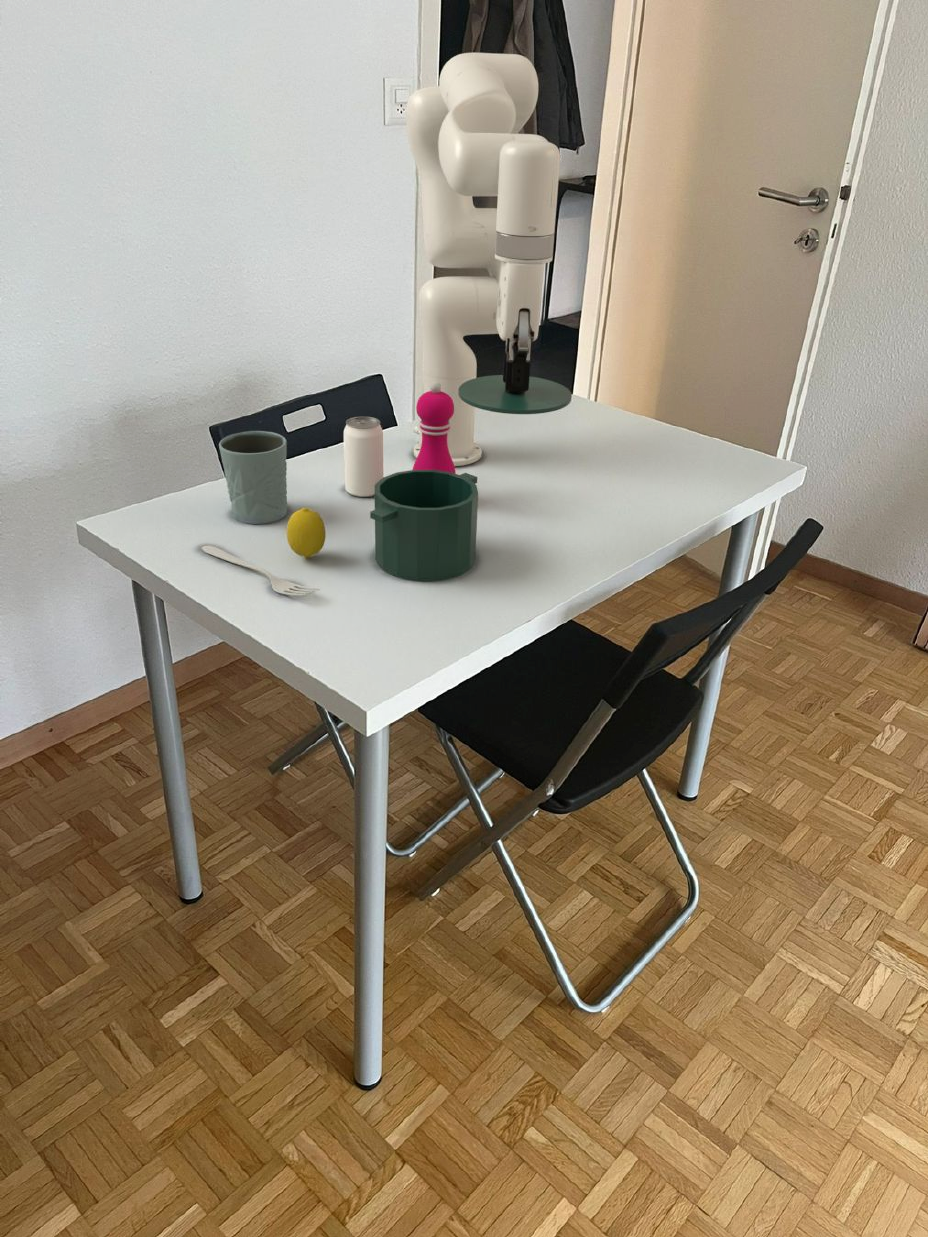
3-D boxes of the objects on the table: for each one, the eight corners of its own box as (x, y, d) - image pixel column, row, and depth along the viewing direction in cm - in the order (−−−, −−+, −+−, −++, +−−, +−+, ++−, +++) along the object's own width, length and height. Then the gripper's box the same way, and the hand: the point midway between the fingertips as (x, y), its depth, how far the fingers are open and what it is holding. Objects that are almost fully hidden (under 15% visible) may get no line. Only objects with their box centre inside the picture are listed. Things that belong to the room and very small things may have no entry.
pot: (341, 564, 141) (339, 494, 136) (433, 523, 155) (435, 457, 149) (415, 598, 133) (415, 525, 128) (505, 551, 147) (510, 483, 141)
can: (353, 500, 161) (352, 430, 155) (339, 486, 166) (337, 418, 160) (389, 494, 164) (389, 425, 158) (374, 480, 169) (373, 413, 163)
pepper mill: (402, 499, 162) (403, 381, 152) (433, 488, 167) (435, 372, 157) (433, 513, 158) (436, 392, 148) (464, 500, 163) (468, 382, 153)
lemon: (319, 568, 140) (317, 517, 136) (282, 564, 141) (279, 513, 137) (331, 552, 145) (329, 502, 141) (296, 547, 146) (293, 498, 141)
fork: (212, 543, 146) (211, 532, 145) (322, 599, 132) (322, 587, 132) (194, 550, 144) (193, 539, 143) (304, 607, 130) (303, 595, 129)
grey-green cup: (300, 519, 154) (296, 446, 148) (238, 531, 150) (232, 457, 144) (276, 496, 162) (271, 426, 156) (217, 507, 157) (209, 436, 151)
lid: (434, 398, 136) (435, 350, 132) (506, 376, 146) (509, 331, 143) (523, 427, 127) (527, 376, 124) (593, 401, 137) (598, 353, 134)
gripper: (490, 235, 133) (484, 368, 142) (500, 258, 119) (493, 404, 128) (545, 236, 133) (535, 369, 143) (561, 260, 119) (549, 405, 129)
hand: (515, 385), depth 136 cm, fingers closed on lid, 2 cm apart
